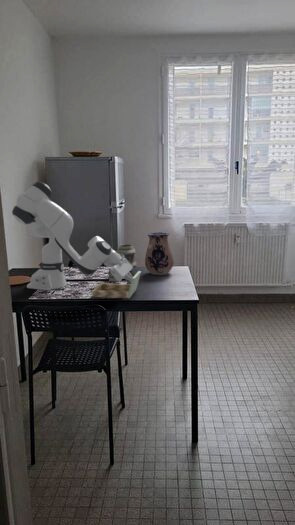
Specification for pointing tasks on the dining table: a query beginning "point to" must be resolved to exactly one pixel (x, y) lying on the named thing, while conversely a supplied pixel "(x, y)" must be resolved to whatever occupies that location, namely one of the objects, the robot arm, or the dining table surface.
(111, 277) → the coffee box
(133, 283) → the pale green flat slab
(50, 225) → the robot arm
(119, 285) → the truck bed crate
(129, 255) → the apothecary jar
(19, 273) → the dining table surface
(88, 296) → the dining table surface
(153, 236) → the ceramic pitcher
